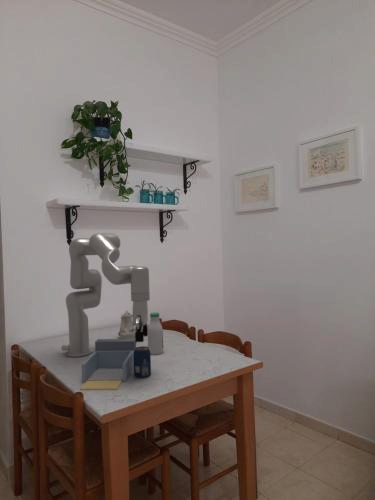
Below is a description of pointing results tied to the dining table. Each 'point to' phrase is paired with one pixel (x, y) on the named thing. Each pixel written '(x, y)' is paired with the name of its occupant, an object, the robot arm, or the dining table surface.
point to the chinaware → (127, 327)
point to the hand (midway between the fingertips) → (141, 338)
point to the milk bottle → (155, 334)
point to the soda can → (142, 362)
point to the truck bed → (111, 357)
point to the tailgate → (101, 385)
